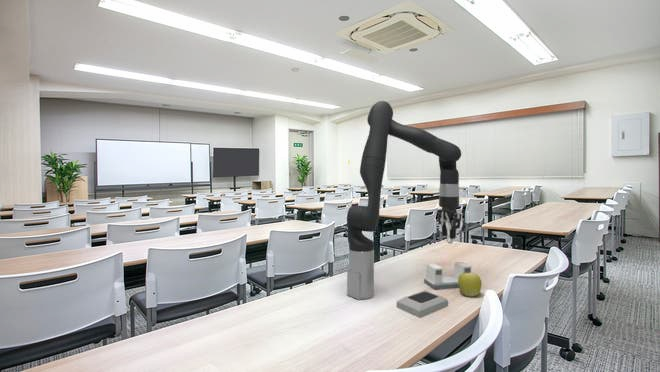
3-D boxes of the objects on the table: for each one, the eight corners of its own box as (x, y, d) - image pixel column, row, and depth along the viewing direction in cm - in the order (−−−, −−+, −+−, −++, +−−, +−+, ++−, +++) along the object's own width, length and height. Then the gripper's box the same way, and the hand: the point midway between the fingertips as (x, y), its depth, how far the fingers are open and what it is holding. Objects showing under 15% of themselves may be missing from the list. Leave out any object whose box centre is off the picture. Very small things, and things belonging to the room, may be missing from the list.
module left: (434, 284, 125) (434, 268, 124) (426, 278, 131) (426, 263, 131) (442, 283, 125) (443, 268, 125) (434, 277, 132) (434, 263, 132)
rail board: (434, 289, 124) (434, 284, 124) (424, 282, 132) (424, 277, 132) (473, 286, 127) (473, 281, 127) (461, 279, 135) (461, 274, 135)
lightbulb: (443, 241, 133) (450, 215, 134) (459, 245, 130) (465, 219, 130) (439, 240, 128) (445, 214, 129) (455, 245, 125) (462, 218, 125)
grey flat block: (396, 297, 108) (425, 288, 117) (396, 308, 109) (424, 298, 117) (419, 307, 101) (448, 296, 109) (419, 319, 101) (447, 307, 110)
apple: (483, 298, 113) (474, 270, 114) (460, 300, 117) (452, 273, 119) (486, 291, 120) (478, 264, 121) (464, 293, 124) (457, 267, 125)
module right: (463, 281, 127) (463, 266, 127) (454, 276, 134) (454, 262, 133) (471, 281, 128) (471, 266, 127) (461, 275, 134) (461, 261, 134)
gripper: (468, 196, 122) (467, 240, 123) (447, 193, 136) (447, 233, 137) (450, 196, 120) (449, 241, 121) (431, 193, 134) (430, 234, 135)
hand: (448, 236), depth 129 cm, fingers closed on lightbulb, 5 cm apart
